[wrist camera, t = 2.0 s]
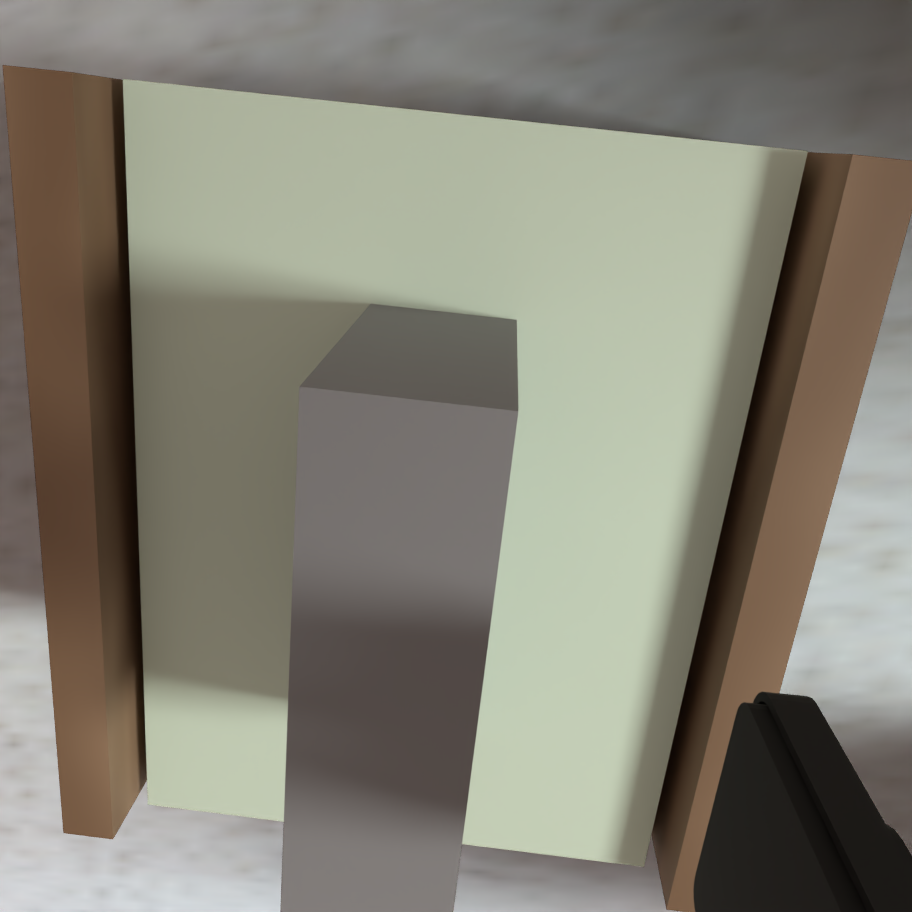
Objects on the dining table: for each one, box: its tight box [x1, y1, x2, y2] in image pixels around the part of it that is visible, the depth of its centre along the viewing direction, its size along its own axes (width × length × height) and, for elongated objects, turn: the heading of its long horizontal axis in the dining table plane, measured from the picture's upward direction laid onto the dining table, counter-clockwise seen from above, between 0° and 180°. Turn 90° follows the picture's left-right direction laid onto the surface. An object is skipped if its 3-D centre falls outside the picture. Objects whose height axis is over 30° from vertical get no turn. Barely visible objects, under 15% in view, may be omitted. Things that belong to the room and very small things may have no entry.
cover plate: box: [123, 79, 808, 912], centre depth 14 cm, size 10×14×6 cm
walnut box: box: [3, 65, 912, 912], centre depth 18 cm, size 13×14×8 cm
